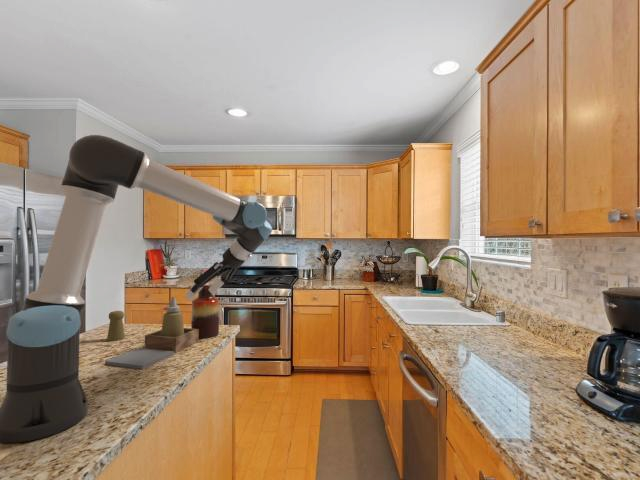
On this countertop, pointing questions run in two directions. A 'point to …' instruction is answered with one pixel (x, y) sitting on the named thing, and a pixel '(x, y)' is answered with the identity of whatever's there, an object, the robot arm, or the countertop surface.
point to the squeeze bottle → (172, 321)
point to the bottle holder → (172, 340)
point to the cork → (116, 326)
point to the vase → (205, 314)
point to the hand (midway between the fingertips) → (199, 294)
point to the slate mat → (139, 358)
